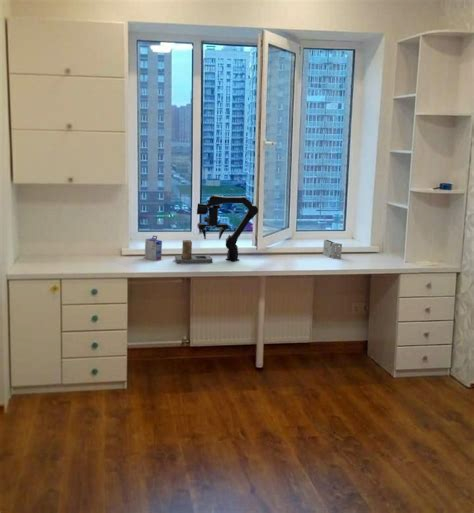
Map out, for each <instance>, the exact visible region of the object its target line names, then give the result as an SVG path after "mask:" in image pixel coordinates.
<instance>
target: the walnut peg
mask: <svg viewBox="0 0 474 513" xmlns="http://www.w3.org/2000/svg"><path fill="white" fill-rule="evenodd" d="M181 247H182V249H181V250H182V254H181V256H182V259H191V256H192V255H193V254H192V248H193V241H192V240H191V239H189V240H187V239H185V240H184V239H183V240H182V246H181Z"/></svg>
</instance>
